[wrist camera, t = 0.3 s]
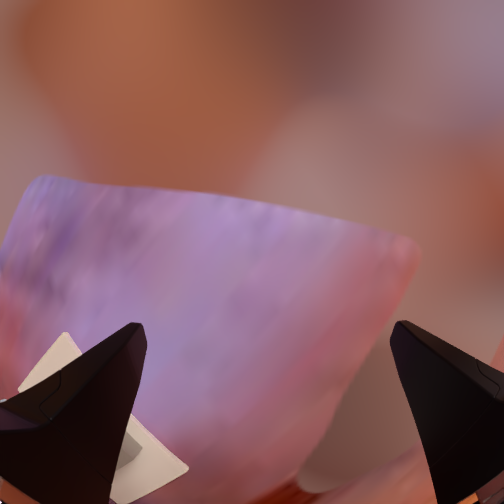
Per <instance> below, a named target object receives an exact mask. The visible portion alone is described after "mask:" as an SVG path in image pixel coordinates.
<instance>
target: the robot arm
mask: <svg viewBox="0 0 504 504" xmlns="http://www.w3.org/2000/svg"><path fill="white" fill-rule="evenodd" d="M390 346H391V350H392V353H393V357H394V360H395V364H396V368H397V371H398V375H399V378H400V381H401V383H402V386H403V389H404V391H405V394H406V397H407V399H408V403H409V405H410V408H411V411H412V414H413V417H414V420H415V423H416V426H417V429H418V432H419V435H420V438H421V442H422V445H423V448H424V452H425V455H426V459H427V462H428V466H429V470H430V474H431V478H432V482H433V486H434V490H435V494H436V499H437V503H438V504H458V503H460V502H461V501H463V500H465V499H466V498H468V497H470V496H471V495H473V494H474V493H476V495H477V498H478V501H476V502H475V503H473V504H504V373H503V372H500V371H498V370H496V369H494V368H492V367H490V366H489V365H487V364H485V363H483V362H481V361H479V360H478V359H475V358H474V357H472V356H470V355H469V354H467V353H465V352H463V351H462V350H460V349H458V348H456V347H454V346H453V345H451V344H449V343H447V342H445V341H444V340H442V339H440V338H438V337H436V336H434V335H433V334H431V333H429V332H427V331H426V330H424V329H422V328H420V327H418V326H416V325H415V324H413V323H411V322H409V321H407V320H402V321H397V322H396V324H395V326H394V329H393V332H392V335H391V337H390ZM146 350H147V340H146V336H145V332H144V328H143V325H142V324H141V323H134V322H131V323H129V324H127V325H126V326H124V327H123V328H121V329H120V330H118V331H117V332H115V333H114V334H112V335H111V336H109V337H108V338H106V339H105V340H103V341H102V342H100V343H99V344H97V345H96V346H94V347H93V348H91V349H90V350H88V351H87V352H85V353H84V354H82V355H81V356H79V357H78V358H76V359H75V360H73V361H72V362H70V363H69V364H67V365H66V366H64V367H63V368H61V370H58V371H56V372H55V373H53V374H52V375H50V376H49V377H47V378H46V379H44V380H43V381H41V382H39V383H37V384H36V385H34V386H32V387H30V388H29V389H27V390H25V391H23V392H21V393H19V394H17V395H16V396H14V397H12V398H10V399H8V400H6V401H4V402H1V403H0V504H108V503H109V498H110V493H111V489H112V485H111V484H112V483H113V479H114V475H115V471H116V467H117V462H118V458H119V455H120V451H121V447H122V443H123V439H124V436H125V432H126V428H127V425H128V421H129V418H130V415H131V411H132V408H133V404H134V401H135V398H136V395H137V391H138V388H139V385H140V380H141V375H142V370H143V365H144V360H145V355H146Z"/></svg>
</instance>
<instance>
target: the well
mask: <svg viewBox="0 0 504 504" xmlns="http://www.w3.org/2000/svg"><path fill="white" fill-rule="evenodd" d="M81 355H82V353H81V351H80V350H79V348H78V347H77V346H76V344H75V343H74V341H73V340H72V338H71V337H70V335H69V334H68V332H63V333H62V334H61V336H60V337H59V338H58V339H57V340H56V341H55V343H54V344H53V345H52V346H51V347H50V349H49V350H48V351H47V352H46V353H45V355H44V356H43V357H42V358H41V360H40V361H39V362H38V363H37V365H36V366H35V367H34V368H33V370H32V371H31V372H30V374H29V375H28V376H27V378H26V379H25V380H24V381H23V383H22V384H21V386H20V387H19V388H18V390H19V392H20V393H21V392H23V391H25V390H27V389H29V388H30V387H32V386H34V385H36V384H37V383H39V382H41V381H43V380H44V379H46V378H47V377H49V376H50V375H52V374H53V373H55V372H56V371H58V370H61V368H63V367H64V366H66V365H67V364H69V363H70V362H72V361H73V360H75V359H76V358H78V357H79V356H81ZM188 469H189V467H188V466H187V465H186V464H185V463H183V462H182V461H181V460H180V459H179V458H177V457H176V456H175V455H174V454H173V453H172V452H170V451H169V450H168V449H167V448H166V447H165V446H164V445H163V444H161V443H160V442H159V441H158V440H157V439H156V438H155V437H154V436H153V435H152V434H151V433H150V432H149V431H148V430H147V429H146V428H145V427H144V426H143V425H142V424H141V423H140V422H139V421H138V420H137V419H136V418H135V417H134V416H133V415H132V414H131V415H130V418H129V421H128V425H127V428H126V432H125V436H124V439H123V443H122V447H121V451H120V455H119V458H118V462H117V467H116V471H115V475H114V479H113V483H112V484H111V485H112V489H111V493H110V498H111V499H112V500H113V501H115V502H116V503H117V504H128V503H130V502H133V501H135V500H137V499H139V498H141V497H143V496H145V495H147V494H149V493H150V492H152V491H154V490H156V489H158V488H160V487H162V486H163V485H165V484H167V483H169V482H170V481H172V480H174V479H176V478H177V477H179V476H181V475H182V474H184V473H186V472H187V471H188Z"/></svg>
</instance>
